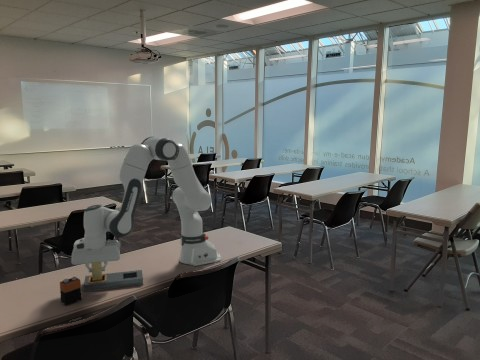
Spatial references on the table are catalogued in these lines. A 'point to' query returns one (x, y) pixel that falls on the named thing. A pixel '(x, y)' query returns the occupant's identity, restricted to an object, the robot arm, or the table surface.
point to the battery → (70, 290)
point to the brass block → (96, 271)
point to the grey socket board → (114, 280)
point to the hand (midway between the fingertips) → (97, 271)
